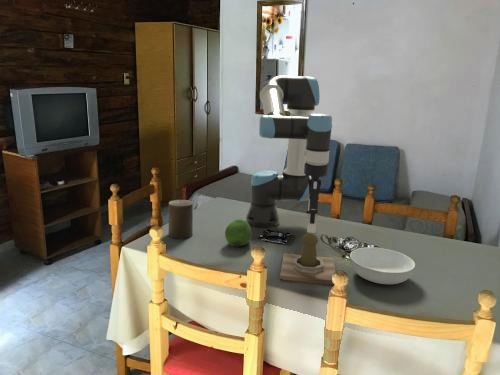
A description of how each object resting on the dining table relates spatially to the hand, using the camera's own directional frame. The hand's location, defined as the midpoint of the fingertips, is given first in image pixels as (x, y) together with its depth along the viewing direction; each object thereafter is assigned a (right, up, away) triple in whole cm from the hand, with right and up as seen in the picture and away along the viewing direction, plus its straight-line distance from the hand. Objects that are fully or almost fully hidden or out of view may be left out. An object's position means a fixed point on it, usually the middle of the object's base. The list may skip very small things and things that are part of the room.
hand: (311, 224), depth 140 cm
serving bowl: (+23, -18, +1) cm, 29 cm away
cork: (0, -14, +4) cm, 15 cm away
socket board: (-1, -16, +4) cm, 16 cm away
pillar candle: (-49, -7, +32) cm, 59 cm away
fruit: (-25, -10, +25) cm, 36 cm away
